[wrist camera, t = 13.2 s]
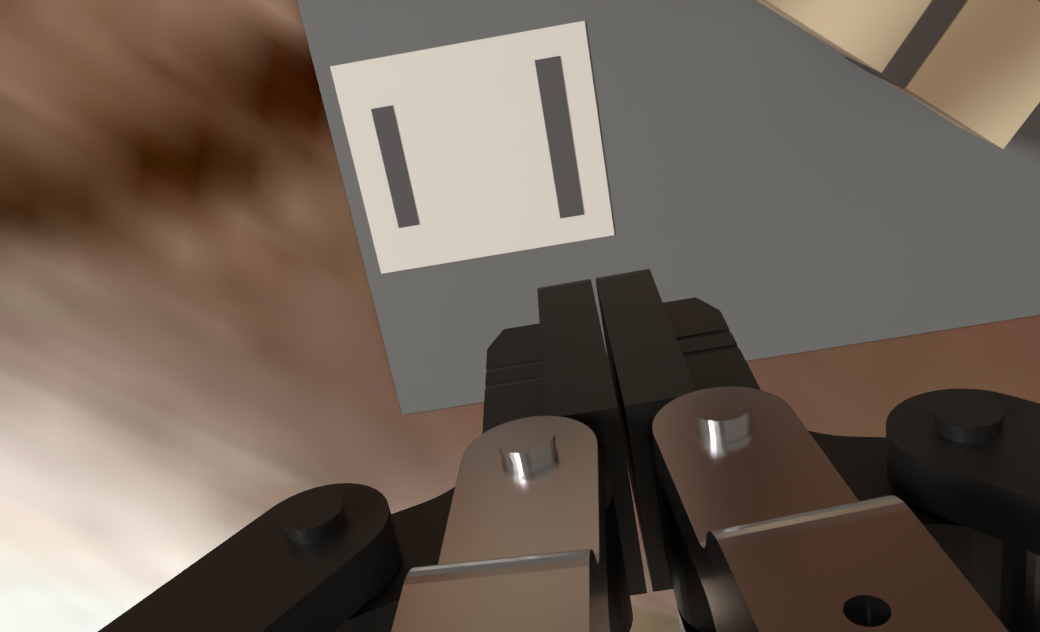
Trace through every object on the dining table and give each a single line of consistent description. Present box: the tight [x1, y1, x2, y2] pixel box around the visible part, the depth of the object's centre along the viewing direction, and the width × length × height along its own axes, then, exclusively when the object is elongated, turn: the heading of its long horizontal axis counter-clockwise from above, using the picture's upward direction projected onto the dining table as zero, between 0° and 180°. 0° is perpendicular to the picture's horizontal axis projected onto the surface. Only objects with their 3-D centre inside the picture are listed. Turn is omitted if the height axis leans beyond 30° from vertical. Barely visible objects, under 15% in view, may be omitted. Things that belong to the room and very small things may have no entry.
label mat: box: [297, 0, 1040, 415], centre depth 29 cm, size 24×28×1 cm
